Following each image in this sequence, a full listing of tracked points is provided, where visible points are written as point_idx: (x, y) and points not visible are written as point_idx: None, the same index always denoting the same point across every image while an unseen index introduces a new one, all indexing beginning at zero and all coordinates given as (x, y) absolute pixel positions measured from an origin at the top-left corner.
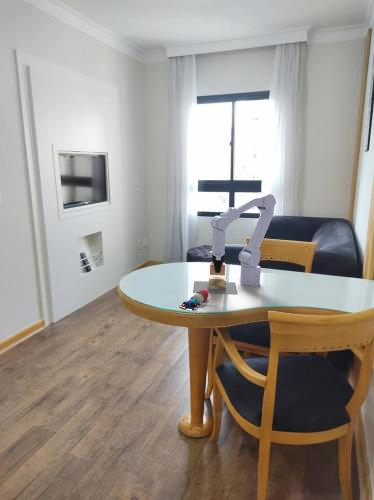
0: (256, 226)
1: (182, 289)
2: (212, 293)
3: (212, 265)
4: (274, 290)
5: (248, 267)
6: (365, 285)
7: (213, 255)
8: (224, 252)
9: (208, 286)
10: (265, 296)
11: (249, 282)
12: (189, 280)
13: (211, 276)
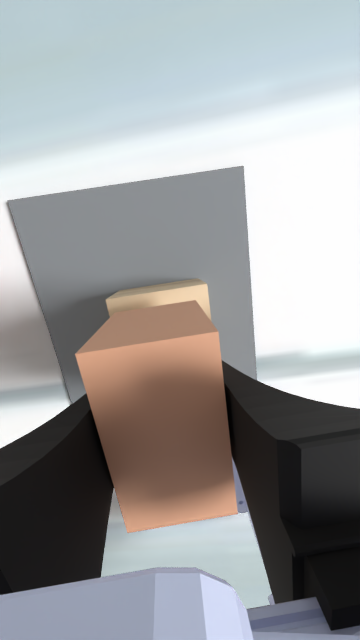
0: None
1: (62, 105)
2: (48, 326)
3: (89, 383)
4: (197, 554)
5: (272, 597)
6: None
7: (294, 478)
8: None
9: (116, 292)
10: (116, 533)
11: (241, 485)
12: (264, 122)
13: (208, 305)
